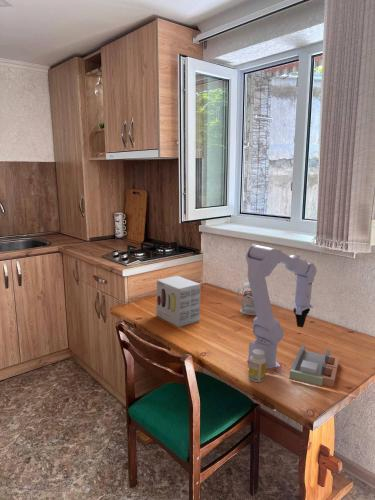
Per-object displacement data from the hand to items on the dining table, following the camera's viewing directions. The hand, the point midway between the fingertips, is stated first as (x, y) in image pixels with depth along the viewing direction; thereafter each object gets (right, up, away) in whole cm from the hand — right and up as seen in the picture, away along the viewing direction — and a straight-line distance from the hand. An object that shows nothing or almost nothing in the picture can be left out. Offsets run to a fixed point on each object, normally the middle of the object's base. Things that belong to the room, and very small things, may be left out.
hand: (300, 326), depth 145 cm
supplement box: (-48, -3, +31) cm, 58 cm away
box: (+2, -13, -12) cm, 17 cm away
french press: (-13, -1, +43) cm, 45 cm away
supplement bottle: (-20, -14, -19) cm, 31 cm away
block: (-3, -13, -18) cm, 22 cm away
